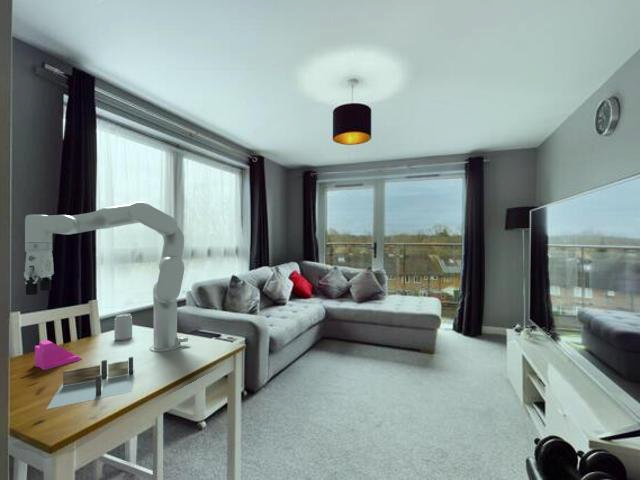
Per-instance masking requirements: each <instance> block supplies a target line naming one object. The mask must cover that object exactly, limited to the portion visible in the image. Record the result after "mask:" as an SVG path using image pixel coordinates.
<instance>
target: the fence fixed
mask: <svg viewBox="0 0 640 480" xmlns="http://www.w3.org/2000/svg"><path fill="white" fill-rule="evenodd" d="M100 363H101V364H100V375H97V376H96V396H100V395H101V380H105V379H107V375H108V378H110V377H115V376H121V375H126V374H128V371H129V375H132V374H133V370H134V356H129V357H128V360H122V361H115V362H109V363H108V360H107V359H104V360H101V362H100Z"/></svg>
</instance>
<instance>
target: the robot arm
mask: <svg viewBox="0 0 640 480" xmlns="http://www.w3.org/2000/svg"><path fill="white" fill-rule="evenodd" d="M135 224H142V225H144V226H146V227H147V228H149V229H152V230H153V231H156V232H157V234H159V235H161V237H162V238H163V245H162V246H163V247H162V252H161V257H160V262H159V263H158V269H159V273H158V279H157V281H156V283H155V284H154V286H153V287H152V288H153V289H152V290H153V291H152V295H153V298H152V299H153V301H152V302H153V344H152V345H150V347H149V351H150V352H153V353H163V352H164V353H166V352H170V351H173V350H178V349H179V348H180V347H181V346H182V344H181V343H185V342H189V336H188V337H187V336H186V337H185V336H181V337H180V336H178V300H177V299H178V298H179V296H180V293H181V290H182V284H183V280H184V273H185V264H184V261H183V254H184V247H185V236H184V233H183V230H182V229H181V228H180V226H179V225H178V222H177V220H176V219H175V218H174V217H173V216H171V215H169V214H168V213H165V212H164V211H162V210H160V209H158V208H157V207H154V206H153V205H151V204H149V203H147V202H145V201H135V202H133V203H130V204H123V205H115V206H109V207H108V206H107V207H102V208H100V209H97V210H95V211H92V212H87V213H80V214H73V215H67V214H55V215H47V214H27V215H26V216H25V219H24V244H25V245H24V247H25V248H24V252H26V255H25V265H24V271H23V276H24V281H25V282H24V283H25V295H27V296H32V295H35V296H36V295H38V293H39V291H38V290H39V289H40V291H44V292H45V291H51V290H52V276H53V275H54V274H55V271H54V257H53V252H52V251H53V234H59V235H60V234H61V235H73V234H79V233H80V234H81V233H85V232H90V231H91V232H92V231H96V230H104V229H110V228H117V227H122V226H127V225H135ZM39 278H41V280H40V284H38V280H39ZM38 285H40V287H39V288H38Z"/></svg>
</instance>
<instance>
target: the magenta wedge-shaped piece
mask: <svg viewBox="0 0 640 480" xmlns="http://www.w3.org/2000/svg"><path fill="white" fill-rule="evenodd" d="M38 343H39V345H35V346H34V366H35V367H36V368H38V367H39V368H40V369H42V370H43V371H45V370H49V369H53V368H56V367H60V366H64V365H67V364H70V363H74V362H78V361H82V360H83V358H81V357H80V356H78V355H76V354H74V353H72V352H71V351H68V350H66V349H65V348H64V347H61V346H60V345H58V344H56V343H54V342H52V341H50V340H48V339H47V340H43V341H39V342H38Z"/></svg>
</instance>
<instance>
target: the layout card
mask: <svg viewBox="0 0 640 480" xmlns="http://www.w3.org/2000/svg"><path fill="white" fill-rule="evenodd" d="M134 376H135V370H134V369H133V374H132V375H129V370H128V374H126V375H121V376H115V377H110V378H108V374H107V379H105V380H101V395H100V396H96V380H93V381H88V382H82V383H77V384H71V385H66V386H63V382H62V384H61V385H60V387H59V388H58V390H56V391H57V392H56V393H55V394H54V396H53V398H52V399H51V401H50V403H49V404H48V406H47V407H46V410H52V409H54V408H59V407H64V406H71V405H75V404H79V403H85V402H88V401H93V400H94V401H95V400H98V399H104V398H108V397H113V396H118V395H122V394H126V393H127V394H128V393H131V392H133V383H134V378H135V377H134Z"/></svg>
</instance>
